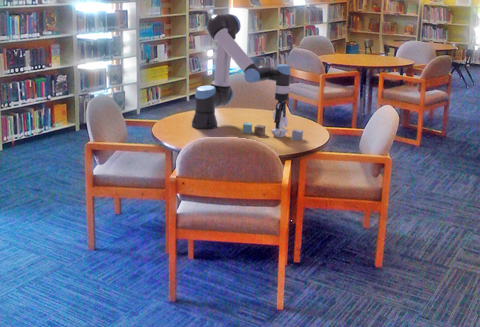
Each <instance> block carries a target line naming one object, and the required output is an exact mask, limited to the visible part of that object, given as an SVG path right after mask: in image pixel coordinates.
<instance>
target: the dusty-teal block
mask: <svg viewBox="0 0 480 327" xmlns="http://www.w3.org/2000/svg"><path fill="white" fill-rule="evenodd" d="M252 131H253V123H252V122H243V124H242V133H243V134H252Z"/></svg>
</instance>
